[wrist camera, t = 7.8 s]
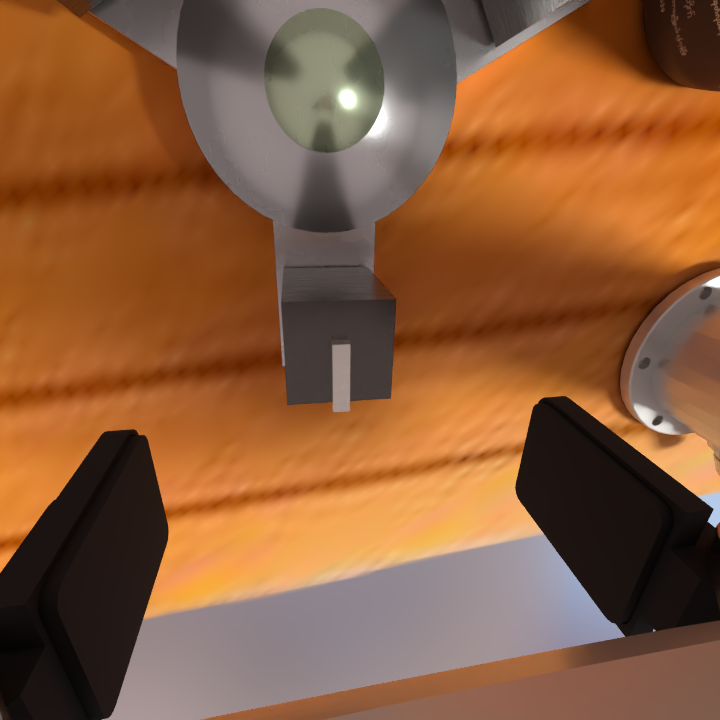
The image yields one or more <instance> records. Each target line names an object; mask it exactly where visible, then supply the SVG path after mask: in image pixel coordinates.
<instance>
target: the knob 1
mask: <svg viewBox="0 0 720 720" xmlns="http://www.w3.org/2000/svg"><path fill="white" fill-rule="evenodd" d="M58 1H59V2H60V3H62V4H63V5H64V6H66V7H67V8H68V9H70V10H71V11H72V12H73V13H75V14H76V15H77V16H79V17H81V16H82V15H84V14H85V13H87V12H88V11H89V10H91V9H92V8H94V7H95V6H96V5H98V4H99V3H101V2H102V1H103V0H58Z"/></svg>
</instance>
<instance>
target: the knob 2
mask: <svg viewBox="0 0 720 720" xmlns="http://www.w3.org/2000/svg"><path fill="white" fill-rule="evenodd" d="M281 310H282V326H283V341H284V357H285V373H286V388H287V404H288V405H294V404H310V403H326V402H332V409H333V412H346V411H350V401H357V400H373V399H389V398H391V385H392V367H393V349H394V331H395V313H396V298H395V297H394V296H393V295H392V294H391V293H390V292H389V290H388V289H387V288H386V287H385V286H384V285H383V284H382V283H381V281H380V280H379V279H378V278H377V277H376V276H375V275H374V274H373V273H372V271H371V270H370V269H369V268H368V267H331V268H284V269H283V282H282V295H281Z"/></svg>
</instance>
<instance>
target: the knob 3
mask: <svg viewBox="0 0 720 720" xmlns="http://www.w3.org/2000/svg"><path fill="white" fill-rule="evenodd" d="M481 1H482V4H483V7H484V10H485V14H486V17H487V20H488V24H489V27H490V30H491V34H492V37H493V40H494V43H495V47H498V46H500V45H501V44H503V43H504V42H506V41H508V40H509V39H511V38H512V37H514V36H516V35H517V34H519V33H520V32H522V31H524V30H525V29H527V28H529V27H530V26H532V25H533V24H535V23H537V22H538V21H540V20H541V19H543V18H545V17H546V16H548V15H549V14H551V13H553V12H554V11H556V10H557V9H559V8H561V7H562V6H564V5H565V4H567V3H569V2H570V1H572V0H481Z"/></svg>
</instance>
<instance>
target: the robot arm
mask: <svg viewBox="0 0 720 720" xmlns="http://www.w3.org/2000/svg"><path fill="white" fill-rule="evenodd" d="M620 388H621V395H622V399H623V402H624V404H625V406H626V409H627V410H628V411H629V412H630V414H631V415H632V416H633V417H634V418H635V419H637V420H638V421H639V422H641V423H642V424H643V425H645V426H646V427H648V428H650V429H652V430H654V431H656V432H659V433H664V434H668V435H683V434H688V433H696V434H697V435H699V436H700V437H702V438H704V439H705V440H707V444H708V446H709V447H710V448H711V449H712V450H714V451H715V452H714V461H715V467H716V471H717V473H718V474H719V475H720V268H718V269H715V270H712V271H709V272H706V273H703V274H701V275H699V276H697V277H695V278H693V279H692V280H690V281H688V282H686V283H685V284H683V285H682V286H680V287H679V288H677V289H676V290H675V291H673V292H672V293H670V294H669V295H668V296H667V297H666V298H665V299H664V300H663V301H662V302H661V303H659V304H658V305H657V306H656V307H655V308H654V309H653V311H652V312H651V313H650V314H649V315H648V317H647V318H646V319H645V320H644V321H643V323H642V324H641V326H640V327H639V329H638V330H637V332H636V334H635V335H634V337H633V338H632V341H631V343H630V345H629V347H628V350H627V352H626V354H625V358H624V361H623V365H622V369H621V379H620ZM515 488H516V494H517V497H518V499H519V500H520V502H521V503H522V505H523V506H524V507H525V509H526V510H527V511H528V513H529V514H530V515H531V517H532V518H533V520H534V521H535V522H536V524H537V525H538V526H539V528H540V529H541V530H542V532H543V533H544V534H545V535H546V537H547V539H548V540H549V541H550V543H551V544H552V545H553V547H554V548H555V549H556V551H557V552H558V553H559V555H560V556H561V557H562V559H563V560H564V562H565V563H566V564H567V566H568V567H569V568H570V570H571V571H572V572H573V574H574V575H575V577H577V579H578V581H579V582H580V583H581V585H582V586H583V587H584V589H585V590H586V591H587V593H588V594H589V596H590V597H591V598H592V600H593V601H594V602H595V604H596V605H597V606H598V608H599V609H600V610H601V612H602V613H603V614H604V616H605V617H606V618H607V619H608V620H609V621H610V622H612V623H615V624H616V625H617V626H618V627H619V629H620V630H621V631H622V633H623V634H624V635H625V637H623V638H617V639H612V640H606V641H601V642H596V643H590V644H585V645H580V646H575V647H569V648H563V649H558V650H553V651H548V652H542V653H537V654H532V655H527V656H522V657H516V658H511V659H506V660H501V661H495V662H491V663H486V664H480V665H475V666H469V667H464V668H459V669H454V670H449V671H444V672H438V673H434V674H428V675H424V676H418V677H413V678H408V679H402V680H398V681H392V682H387V683H382V684H377V685H372V686H366V687H362V688H356V689H351V690H346V691H341V692H336V693H332V694H327V695H322V696H316V697H311V698H306V699H301V700H297V701H292V702H287V703H281V704H276V705H271V706H266V707H262V708H256V709H251V710H246V711H241V712H236V713H231V714H227V715H221V716H216V717H211V718H207V719H202V720H720V523H719V524H718V525H717V527H716V528H715V527H713V526H712V525H711V524H710V523H708V522H707V521H708V519H709V517H710V515H711V513H712V511H713V508H711V507H710V506H709V505H707V504H706V503H705V502H704V501H702V500H701V499H700V498H698V497H697V496H696V495H695V494H693V493H692V492H691V491H689V490H688V489H687V488H685V487H684V486H683V485H681V484H680V483H679V482H678V481H676V480H675V479H674V478H672V477H671V476H670V475H668V474H667V473H666V472H665V471H663V470H662V469H661V468H659V467H658V466H657V465H655V464H654V463H653V462H651V461H650V460H649V459H648V458H646V457H645V456H644V455H642V454H641V453H640V452H638V451H637V450H636V449H635V448H633V447H632V446H631V445H629V444H628V443H627V442H625V441H624V440H623V439H621V438H620V437H619V436H618V435H616V434H615V433H614V432H612V431H611V430H610V429H608V428H607V427H606V426H605V425H603V424H602V423H601V422H599V421H598V420H597V419H595V418H594V417H593V416H591V415H590V414H589V413H588V412H586V411H585V410H584V409H582V408H581V407H580V406H578V405H577V404H576V403H575V402H573V401H572V400H571V399H569V398H568V397H566V396H560V397H547V398H542V399H541V400H540V401H539V402H538V404H536V405H535V406H534V407H533V410H532V415H531V419H530V423H529V428H528V432H527V437H526V441H525V446H524V450H523V454H522V459H521V463H520V468H519V472H518V476H517V481H516V487H515ZM167 541H168V523H167V519H166V515H165V511H164V506H163V502H162V498H161V494H160V490H159V485H158V481H157V477H156V473H155V469H154V464H153V460H152V456H151V452H150V448H149V444H148V440H147V438H146V436H145V435H138V433H137V431H136V430H134V429H132V430H119V431H107V432H104V433H103V434H102V435H101V436H100V438H99V439H98V441H97V442H96V443H95V445H94V446H93V448H92V449H91V451H90V452H89V453H88V455H87V456H86V458H85V459H84V461H83V462H82V463H81V465H80V466H79V468H78V469H77V470H76V472H75V473H74V475H73V476H72V478H71V479H70V480H69V482H68V483H67V485H66V486H65V487H64V489H63V490H62V492H61V493H60V495H59V496H58V497H57V499H56V500H54V501H53V502H52V503H51V504H50V505H49V506H48V507H47V509H46V510H45V511H44V513H43V514H42V516H41V517H40V518H39V520H38V521H37V523H36V524H35V525H34V527H33V528H32V530H31V531H30V532H29V534H28V535H27V537H26V538H25V539H24V541H23V542H22V544H21V545H20V546H19V548H18V549H17V551H16V552H15V553H14V555H13V556H12V558H11V559H10V560H9V562H8V563H7V565H6V566H5V567H4V569H3V570H2V572H1V573H0V720H102V719H106V718H109V717H110V716H111V714H112V712H113V711H114V708H115V706H116V703H117V699H118V696H119V693H120V690H121V687H122V684H123V681H124V677H125V674H126V671H127V668H128V665H129V662H130V658H131V655H132V652H133V649H134V646H135V643H136V640H137V636H138V633H139V630H140V626H141V624H142V621H143V617H144V614H145V611H146V608H147V605H148V602H149V598H150V595H151V592H152V589H153V586H154V583H155V579H156V576H157V573H158V570H159V567H160V564H161V561H162V557H163V554H164V551H165V548H166V545H167ZM653 629H655V630H656V631H655V632H652V631H653Z"/></svg>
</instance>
